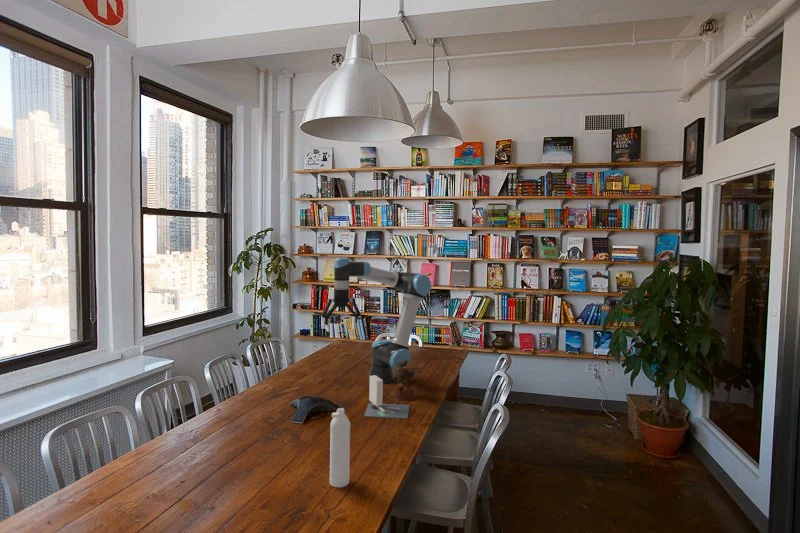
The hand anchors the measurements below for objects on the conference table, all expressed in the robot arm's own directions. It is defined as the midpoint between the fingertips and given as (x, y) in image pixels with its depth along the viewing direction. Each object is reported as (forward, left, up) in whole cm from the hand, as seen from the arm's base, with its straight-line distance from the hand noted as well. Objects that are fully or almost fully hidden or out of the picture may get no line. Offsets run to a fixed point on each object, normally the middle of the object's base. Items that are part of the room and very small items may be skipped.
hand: (340, 330), depth 225 cm
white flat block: (+14, +21, -34) cm, 42 cm away
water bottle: (+80, +16, -35) cm, 89 cm away
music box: (-6, +33, -35) cm, 48 cm away
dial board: (+15, +26, -35) cm, 46 cm away
